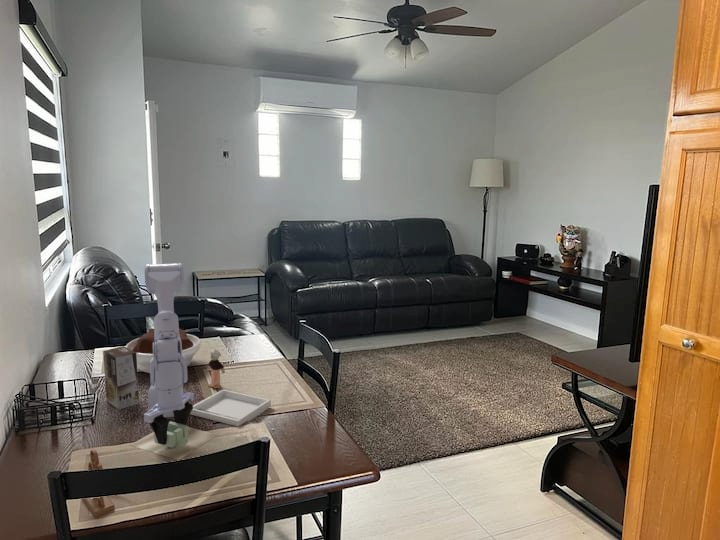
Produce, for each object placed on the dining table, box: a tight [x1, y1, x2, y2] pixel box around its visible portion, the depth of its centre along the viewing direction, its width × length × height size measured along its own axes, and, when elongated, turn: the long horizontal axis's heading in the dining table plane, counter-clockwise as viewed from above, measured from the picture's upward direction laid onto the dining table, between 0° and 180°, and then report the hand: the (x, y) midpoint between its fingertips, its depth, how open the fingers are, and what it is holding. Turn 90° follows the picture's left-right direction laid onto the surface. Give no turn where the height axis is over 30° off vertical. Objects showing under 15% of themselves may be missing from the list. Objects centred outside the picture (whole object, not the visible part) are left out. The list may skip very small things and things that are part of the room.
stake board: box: [129, 426, 218, 461], centre depth 133 cm, size 16×14×5 cm
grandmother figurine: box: [207, 349, 226, 389], centre depth 169 cm, size 8×4×13 cm, turn 68°
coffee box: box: [102, 345, 140, 410], centre depth 156 cm, size 9×6×16 cm
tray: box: [190, 388, 272, 427], centre depth 152 cm, size 18×16×2 cm
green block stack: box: [154, 420, 189, 448], centre depth 129 cm, size 7×6×3 cm
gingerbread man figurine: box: [82, 448, 116, 518], centre depth 108 cm, size 9×4×12 cm, turn 43°
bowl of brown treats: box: [125, 328, 202, 374], centre depth 185 cm, size 25×25×15 cm
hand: (171, 437), depth 130 cm, fingers closed on green block stack, 6 cm apart
